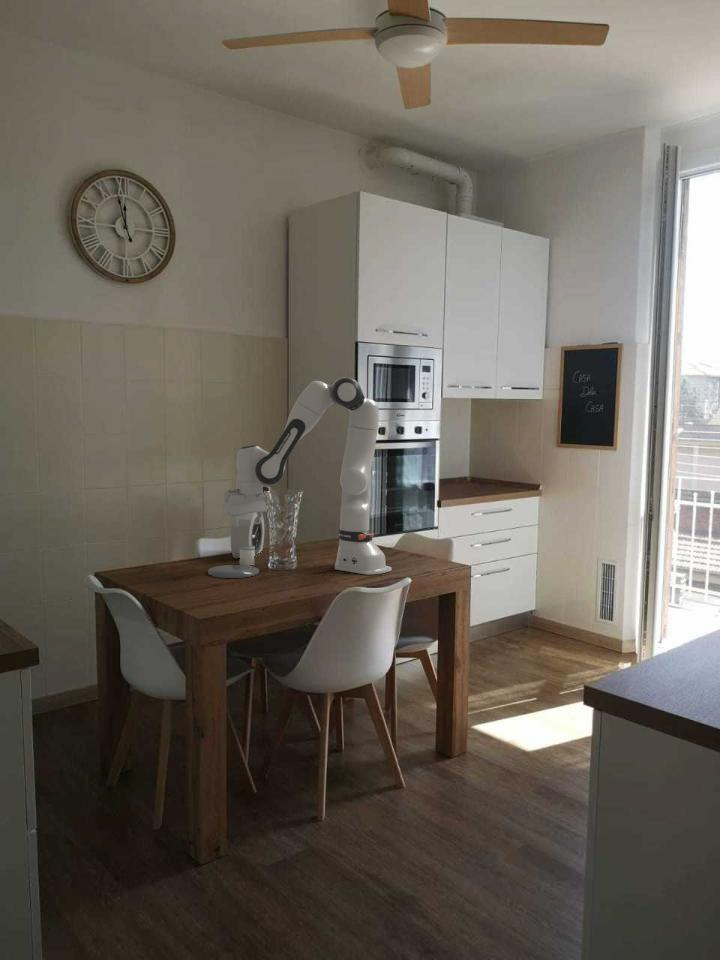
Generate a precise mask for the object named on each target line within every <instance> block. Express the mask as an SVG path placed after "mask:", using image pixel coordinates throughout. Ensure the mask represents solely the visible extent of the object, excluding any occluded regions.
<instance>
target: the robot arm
mask: <svg viewBox="0 0 720 960" xmlns="http://www.w3.org/2000/svg"><path fill="white" fill-rule="evenodd" d="M332 405H337V406H339V407H342V408H346V409H347V410H348V412H349V421H348V425H347V426H348V427H347V428H348V429H347V434H346V441H345V448H344V454H343V459H342V462H341V463H342V464H341V471H340V477H339V483H340V488H341V489H342V491H341V500H340V501H341V503H340V514H339V515H340V518H339V519H340V520H339V522H340V523H339V524H340V526H339V529H338V534H337V535H338V539H339V541H338V546H337V547H338V549H337V555H336V561H335V564H334V570H338V571H344V572H348V573H349V572H350V573H356V574H361V575H367V576H368V575H380V574H384V573H388V572H391V571H392V566H388V565H386V564H387V563H386V556H385V553H384V552H383V550H381V549H380V547H379V546H378V545H377V544H376V543H375V542H374V541H373V537H375V533H372V532H371V530H370V512H371V496H372V495H371V493H372V468H373V463H374V461H373V460H374V455H375V451H376V443H377V437H378V429H379V419H380V417H379V415H380V414H379V413H380V412H379V404H377V402H376V401H375V400H373V399H371V398H367V397H365V395H364V392H363V390H362V387H361V385H360V383H359V382H358V381H357V380H356V379H354V378H352V377H348V376H343V377H339V378H338V379H336V380H335V381H334V382H331V383H330V384H328V383H326V382H323V381H321V380H312V381H311V382H310V383H309V384H308V385H307V386H306V387H305V388H304V390H303V391H302V392H301V393H300V395H299V396H298V398H297V399H296V400H295V403H294V404H293V406H292V407H291V409H290V413H289V415H288V418H287V421H286V424H285V428H284V430H283V432H282V434H281V436H280V437H279V438H278V440H277V442H276V443H275V445H274V447H272V449H271V451H270V452H268V451H267V450H264V449H263V448H261V447H260V446H259V445H257V444H250V445H246V446H242V447H241V448H239V450H238V451H237V454H236V467H235V469H236V473H237V474H236V479H235V489H228V490H227V491H226V492H225V493H224V500H223V507H222V512H223V514H224V515H227V516H231V519H232V522H233V521H234V526H236V527H237V526H240V522H239V521H238V519H237V517H238V514H247V513H257V514H258V516H257V518H256V519H254V521H255V522H254V523H255V524H260V519H261V518H262V516H263V517H264V513H266V512H268V511H267V507H266V502H265V497H264V491H269V490H272V487H270V486H267V485H275V484H277V483H278V482H279V481H280V480H281V479H282V477H283V475H284V474H285V470H286V462H287V460H288V458H289V457H290V455H291V454H292V452H293V450H294V449H295V447H296V446H297V444H298V443H299V441H300V440H301V439H303V438H304V437H305V436H306V435H307V434H309V433H310V432H311V431H312V429H314V427H315V426H317V424H318V423H319V421H320V419H321V418H322V417H323V415H324V413H325V411H326V410H327V409H328V408H329V407H330V406H332ZM261 483H262V484H261Z"/></svg>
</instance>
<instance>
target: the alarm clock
mask: <svg viewBox="0 0 720 960" xmlns="http://www.w3.org/2000/svg"><path fill="white" fill-rule="evenodd" d="M257 516H258V514H257V513H247V514H238V517H237V519H238V521H239V522H240V526H237V527H236V526H234V521H233V520H232V524H231V531H230V548H231V553H232V557H233V559H239V558H240V549H239V547H240V546H243V545H251V546H255V552H254V556H255V555H256V554H258V553H260V552H261V551H263V548H264V542H265V520H264V515H263V516H262V518H261V519H260V524H255V523H254V522H255V521H254V519H256V518H257ZM261 553H262V552H261Z"/></svg>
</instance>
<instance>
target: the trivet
mask: <svg viewBox="0 0 720 960" xmlns="http://www.w3.org/2000/svg"><path fill="white" fill-rule="evenodd" d="M258 573H259V574H260V570H259V568H257V567H255V566H246V565H240V564H226V565H224V564H223V565H217V566H213V567H211V568H210V567H209V569H208V571H207V574H208V576H210V575H211V576H210V577H213V578H217V577H218V578H217V579H225V578H240V579H246V578H245V577H249V578H252V577H251V576H253V577H255V575H256V576H258V575H259V574H258ZM257 574H258V575H257Z"/></svg>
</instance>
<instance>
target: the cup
mask: <svg viewBox="0 0 720 960" xmlns="http://www.w3.org/2000/svg"><path fill="white" fill-rule="evenodd" d="M239 549H240V559H239V565H246V566H249V565H254V566H255V558H254V552H255V546H251V545H243V546H240V547H239Z"/></svg>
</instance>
